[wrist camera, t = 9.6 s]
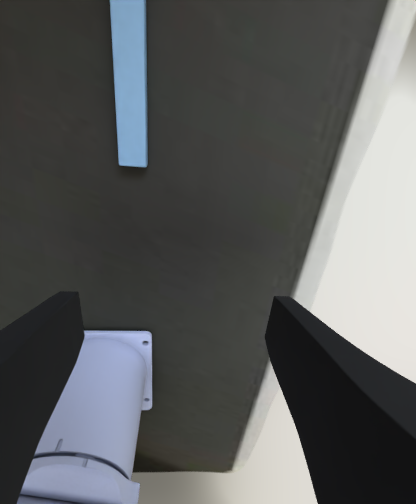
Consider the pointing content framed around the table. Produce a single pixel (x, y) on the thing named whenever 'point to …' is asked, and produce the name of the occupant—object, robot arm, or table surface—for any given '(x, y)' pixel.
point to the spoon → (130, 80)
